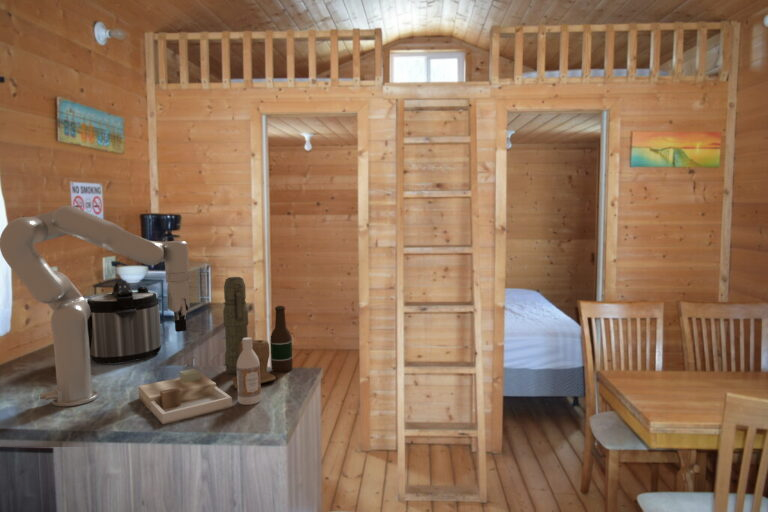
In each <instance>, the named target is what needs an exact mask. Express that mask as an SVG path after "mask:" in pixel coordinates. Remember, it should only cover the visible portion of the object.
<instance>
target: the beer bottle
mask: <svg viewBox="0 0 768 512" xmlns="http://www.w3.org/2000/svg"><path fill="white" fill-rule="evenodd" d="M274 307H275V308H274V310H275V324H274V329H273V330H272V332H271V335H270V361H271V362H270V364H271V366H270V367H271V370H272V371H273V373H280V374H281V373H287V372H288V373H289V372H291V371H292V370H293V342H292V341H293V340H292V334H291V332H290V330H289V329H288V328H287V323H286V322H287V321H286V314H285V310H286V307H285V306H284V305H277V306H274Z"/></svg>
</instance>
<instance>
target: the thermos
mask: <svg viewBox="0 0 768 512" xmlns="http://www.w3.org/2000/svg"><path fill="white" fill-rule="evenodd" d="M223 293H224V295H223V296H224V297H223V298H224V307H223V311H222V312H223V327H224V329H225V330H224V331H225V346H226V347H225V353H224V363H225V364H224V365H225V372H227V374H228V373H230V374H229V375H237V360H238V358H239V345H240V343H241V342H242V339H243V338H247V337H249V336H248V333H249V332H248V325H249V309H248V306H247V302H246V298H247V297H246V296H247V293H246V284H245V280H244V278H242V277H241V276H233V277H227V278H225V281H224V285H223Z"/></svg>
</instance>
